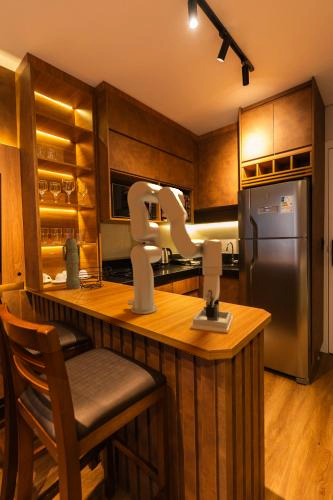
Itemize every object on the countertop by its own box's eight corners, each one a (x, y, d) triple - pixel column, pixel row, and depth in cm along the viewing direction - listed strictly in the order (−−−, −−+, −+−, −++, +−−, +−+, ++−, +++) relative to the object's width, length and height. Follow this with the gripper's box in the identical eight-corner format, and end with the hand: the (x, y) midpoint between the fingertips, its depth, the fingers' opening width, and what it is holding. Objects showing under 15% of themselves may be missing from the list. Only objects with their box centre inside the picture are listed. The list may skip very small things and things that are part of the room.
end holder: (190, 328, 91) (190, 320, 91) (200, 314, 106) (200, 308, 106) (227, 332, 86) (227, 324, 86) (233, 318, 101) (233, 311, 101)
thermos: (84, 287, 170) (82, 237, 168) (69, 290, 161) (66, 238, 158) (77, 285, 175) (74, 238, 173) (62, 288, 166) (59, 238, 163)
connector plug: (203, 320, 96) (202, 306, 95) (205, 317, 99) (205, 303, 99) (217, 322, 94) (216, 307, 93) (218, 319, 97) (218, 304, 97)
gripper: (207, 267, 104) (208, 306, 105) (197, 274, 88) (198, 319, 89) (225, 268, 101) (225, 307, 103) (217, 274, 85) (218, 321, 87)
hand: (212, 313), depth 96 cm, fingers open, 9 cm apart
